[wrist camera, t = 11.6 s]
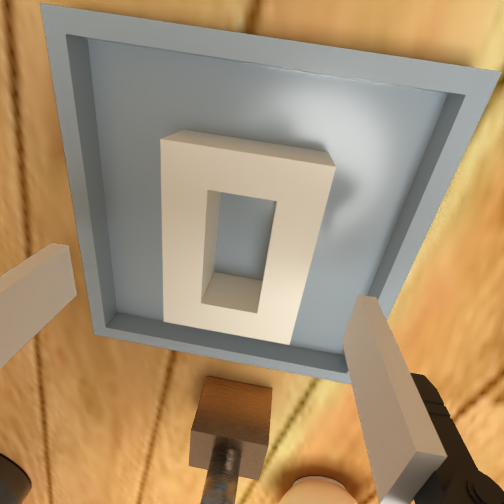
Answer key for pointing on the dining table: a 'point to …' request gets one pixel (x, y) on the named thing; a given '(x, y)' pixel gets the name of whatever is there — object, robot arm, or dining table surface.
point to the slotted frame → (206, 227)
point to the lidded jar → (317, 492)
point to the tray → (258, 129)
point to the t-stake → (229, 436)
